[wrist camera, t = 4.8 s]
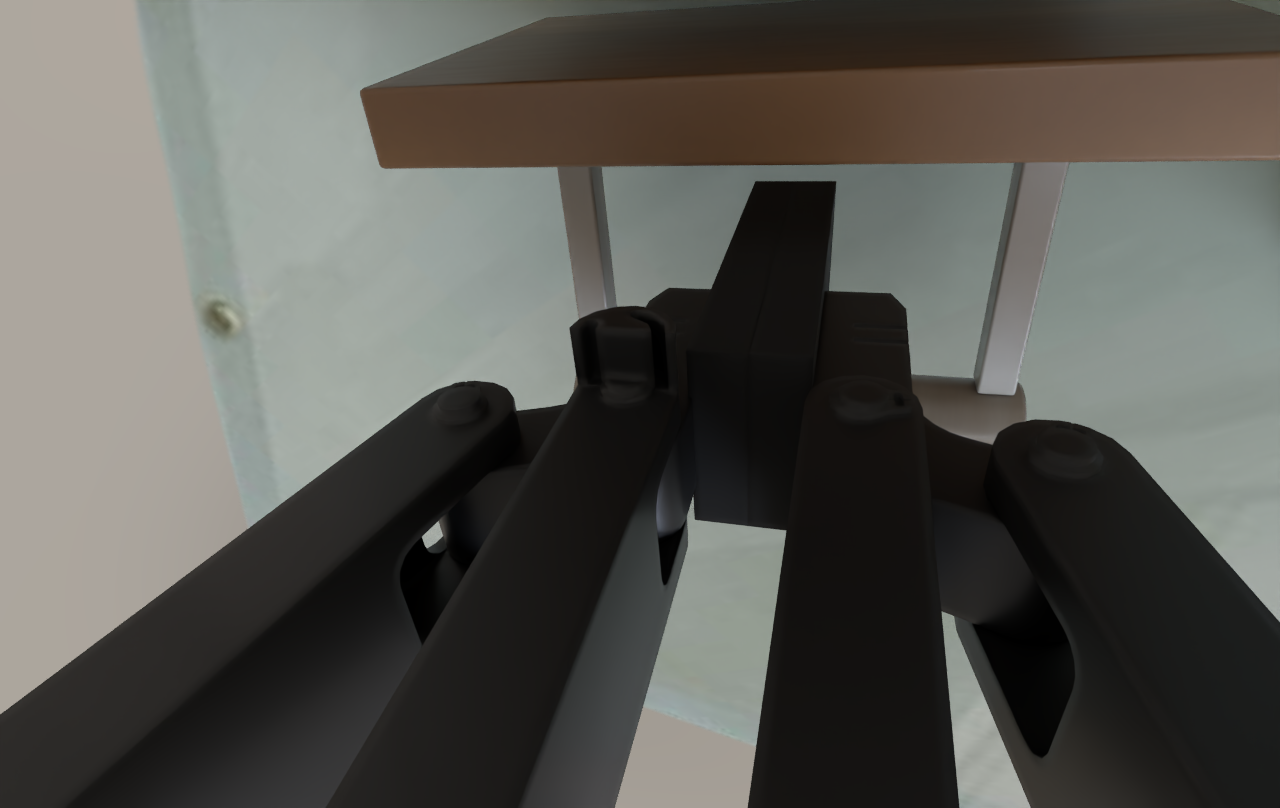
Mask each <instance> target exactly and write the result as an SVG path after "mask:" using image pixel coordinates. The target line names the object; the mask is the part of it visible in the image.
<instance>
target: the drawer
mask: <svg viewBox="0 0 1280 808" xmlns="http://www.w3.org/2000/svg"><path fill="white" fill-rule="evenodd" d="M360 95H361V99H362V103H363V106H364V110H365V114H366V117H367V121H368V125H369V128H370V132H371V136H372V139H373V143H374V146H375V150H376V154H377V157H378V161H379V164H380V166H381V167H382V168H386V169H393V168H502V167H557V168H558V175H559V182H560V189H561V196H562V203H563V210H564V217H565V224H566V231H567V238H568V245H569V252H570V259H571V266H572V273H573V280H574V287H575V294H576V301H577V308H578V315H579V319H580V318H582V317H584V316H587V315H589V314H591V313H593V312H595V311H599V310H604V309H608V308H613V307H617V304H616V295H615V286H614V277H613V268H612V259H611V250H610V241H609V232H608V222H607V213H606V204H605V195H604V186H603V177H602V168H601V167H610V166H719V165H827V164H936V163H1015V164H1014V169H1013V174H1012V179H1011V184H1010V189H1009V195H1008V200H1007V205H1006V210H1005V215H1004V220H1003V225H1002V231H1001V236H1000V241H999V246H998V251H997V256H996V261H995V267H994V272H993V277H992V282H991V287H990V292H989V297H988V303H987V308H986V313H985V318H984V323H983V328H982V334H981V339H980V344H979V349H978V354H977V359H976V364H975V370H974V378H960V377H943V376H926V375H911V378H912V390H913V394H914V395H916V396H917V397H918V399H919V402H920V404H921V406H922V408H923V416H925V417H926V418H927V419H929V420H930V421H931V422H932V423H934V424H935V425H937V426H939V427H941V428H943V429H945V430H947V431H949V432H951V433H954V434H957V435H960V436H963V437H966V438H969V439H973V440H977V441H980V442H984V443H988V444H991V445H993V443H994V441H995V438H996V436H997V434H998V432H1000V431H1001V430H1003V429H1005V428H1007V427H1008V426H1010V425H1012V424H1013V423H1019V422H1024V421H1026V419H1027V412H1026V399H1025V394H1024V391H1023V388H1022V386H1021V384H1020V383H1018V379H1019V375H1020V370H1021V366H1022V362H1023V358H1024V353H1025V349H1026V345H1027V341H1028V336H1029V332H1030V328H1031V324H1032V319H1033V315H1034V311H1035V306H1036V302H1037V298H1038V294H1039V289H1040V285H1041V281H1042V277H1043V272H1044V268H1045V264H1046V260H1047V255H1048V251H1049V247H1050V242H1051V238H1052V234H1053V230H1054V225H1055V221H1056V217H1057V213H1058V208H1059V204H1060V200H1061V196H1062V191H1063V187H1064V183H1065V179H1066V174H1067V170H1068V166H1069V162H1153V161H1262V160H1280V15H1277V14H1274V13H1270V12H1267V11H1264V10H1261V9H1257V8H1254V7H1251V6H1247V5H1244V4H1241V3H1238V2H1234V1H1231V0H812V1H796V2H781V3H766V4H750V5H735V6H719V7H704V8H688V9H673V10H657V11H642V12H626V13H611V14H596V15H580V16H565V17H549V18H545V19H542V20H540V21H537V22H534V23H532V24H529V25H527V26H524V27H521V28H519V29H516V30H514V31H511V32H508V33H506V34H503V35H501V36H498V37H495V38H493V39H490V40H487V41H485V42H482V43H480V44H477V45H474V46H472V47H469V48H467V49H464V50H461V51H459V52H456V53H454V54H451V55H448V56H446V57H443V58H441V59H438V60H435V61H433V62H430V63H428V64H425V65H422V66H420V67H417V68H415V69H412V70H409V71H407V72H404V73H402V74H399V75H396V76H394V77H391V78H389V79H386V80H383V81H381V82H378V83H376V84H373V85H370V86H368V87H365V88H363V89H362V90H361V91H360ZM577 386H578V382H577V375H576V379H575V385H574V391H575V389H576V387H577Z"/></svg>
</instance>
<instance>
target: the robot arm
mask: <svg viewBox="0 0 1280 808" xmlns="http://www.w3.org/2000/svg"><path fill="white" fill-rule="evenodd" d="M835 192H836V181H755V184H754V186H753V189H752V191H751V193H750V196H749V198H748V201H747V203H746V206H745V208H744V210H743V213H742V215H741V218H740V220H739V223H738V225H737V228H736V230H735V232H734V235H733V237H732V240H731V242H730V245H729V247H728V249H727V252H726V254H725V257H724V259H723V262H722V264H721V267H720V269H719V271H718V274H717V276H716V279H715V281H714V284H713V286H712V288H711V289H686V288H668V289H666V290H665V291H663V292H662V293H660V294H659V295H658V296H656V297H655V298H653V299H652V300H650V301H649V303H648V304H647V306H646V307H639V306H625V307H613V308H608V309H604V310H599V311H595V312H593V313H591V314H589V315H587V316H584V317H582V318H580V319H579V320H578V321H577V322H575V323H574V324H573V325H572V326H571V327H570V334H571V341H572V348H573V355H574V361H575V368H576V375H577V382H578V386H577V387H576V389H575V391H574V392H573V394H572V396H571V397H570V399H569V401H568V402H567V404H563V405H558V406H552V407H546V408H537V409H529V410H520V411H516V407H515V402H514V397H513V396H512V395H511V393H510V392H509V391H508V389H507V388H505V387H502V386H500V385H498V384H495V383H490V382H480V381H467V382H459V383H454V384H452V385H450V386H447V387H444V388H441V389H438V390H436V391H434V392H433V393H431V394H429V395H427V396H426V397H424V398H422V399H421V400H419V401H418V402H417V403H415V404H414V405H413V406H411V407H410V408H409V409H407V410H406V411H405V412H403V413H402V414H401V415H399V416H398V417H397V418H395V419H394V420H393V421H391V422H390V423H389V424H387V425H386V426H385V427H383V428H382V429H381V430H379V431H378V432H377V433H375V434H374V435H373V436H371V437H370V438H369V439H367V440H366V441H365V442H363V443H362V444H361V445H359V446H358V447H357V448H355V449H354V450H353V451H351V452H350V453H349V454H347V455H346V456H345V457H343V458H342V459H341V460H339V461H338V462H337V463H335V464H334V465H333V466H331V467H330V468H329V469H327V470H326V471H325V472H323V473H322V474H321V475H319V476H318V477H317V478H315V479H314V480H313V481H311V482H310V483H309V484H307V485H306V486H305V487H303V488H302V489H301V490H299V491H298V492H297V493H295V494H294V495H293V496H291V497H290V498H289V499H287V500H286V501H285V502H283V503H282V504H281V505H279V506H278V507H277V508H275V509H274V510H273V511H271V512H270V513H269V514H267V515H266V516H265V517H263V518H262V519H261V520H259V521H258V522H257V523H255V524H254V525H253V526H251V527H250V528H249V529H247V530H246V531H245V532H243V533H242V534H241V535H239V536H238V537H237V538H235V539H234V540H233V541H231V542H230V543H229V544H227V545H226V546H225V547H223V548H222V549H221V550H219V551H218V552H217V553H216V554H214V555H213V556H211V557H210V558H209V559H207V560H206V561H205V562H203V563H202V564H201V565H199V566H198V567H197V568H195V569H194V570H193V571H191V572H190V573H189V574H187V575H186V576H185V577H183V578H182V579H181V580H179V581H178V582H177V583H175V584H174V585H173V586H171V587H170V588H169V589H167V590H166V591H165V592H163V593H162V594H161V595H159V596H158V597H157V598H155V599H154V600H153V601H151V602H150V603H149V604H147V605H146V606H145V607H143V608H142V609H141V610H139V611H138V612H137V613H136V614H134V615H133V616H131V617H130V618H129V619H127V620H126V621H125V622H123V623H122V624H121V625H119V626H118V627H117V628H115V629H114V630H113V631H111V632H110V633H109V634H107V635H106V636H105V637H103V638H102V639H101V640H99V641H98V642H97V643H95V644H94V645H93V646H91V647H90V648H89V649H87V650H86V651H85V652H83V653H82V654H81V655H79V656H78V657H77V658H75V659H74V660H73V661H71V662H70V663H69V664H68V665H66V666H65V667H63V668H62V669H61V670H59V671H58V672H57V673H55V674H54V675H53V676H51V677H50V678H49V679H47V680H46V681H45V682H43V683H42V684H41V685H39V686H38V687H37V688H35V689H34V690H33V691H31V692H30V693H28V694H27V695H26V696H24V697H23V698H22V699H21V700H19V701H18V702H17V703H15V704H14V705H12V706H11V707H10V708H9V709H7V710H6V711H4V712H3V713H2V714H0V808H615V804H616V800H617V797H618V794H619V790H620V786H621V783H622V779H623V776H624V772H625V769H626V765H627V761H628V758H629V754H630V750H631V747H632V744H633V740H634V737H635V733H636V729H637V726H638V722H639V719H640V715H641V711H642V708H643V704H644V701H645V697H646V694H647V690H648V687H649V683H650V679H651V676H652V672H653V669H654V665H655V662H656V658H657V654H658V651H659V647H660V644H661V640H662V637H663V633H664V629H665V626H666V622H667V619H668V615H669V612H670V608H671V604H672V601H673V597H674V594H675V590H676V587H677V583H678V579H679V576H680V572H681V569H682V565H683V562H684V558H685V555H686V551H687V547H688V529H687V514H688V511H689V507H690V504H691V501H692V497H693V494H694V513H695V520H702V521H711V522H719V523H728V524H736V525H745V526H753V527H762V528H771V529H779V530H787V531H786V538H785V546H784V553H783V560H782V567H781V574H780V581H779V588H778V595H777V603H776V610H775V617H774V624H773V631H772V638H771V645H770V652H769V660H768V667H767V674H766V681H765V688H764V695H763V702H762V710H761V717H760V724H759V731H758V738H757V745H756V752H755V760H754V767H753V774H752V781H751V788H750V795H749V802H748V808H959V799H958V788H957V777H956V766H955V755H954V744H953V733H952V722H951V711H950V700H949V689H948V678H947V667H946V656H945V646H944V635H943V624H942V613H941V611H943V612H945V613H948V614H951V615H953V616H954V618H955V624H956V630H957V633H958V635H959V638H960V640H961V642H962V645H963V647H964V650H965V652H966V654H967V657H968V659H969V662H970V664H971V666H972V669H973V671H974V673H975V676H976V678H977V681H978V683H979V685H980V688H981V690H982V692H983V695H984V697H985V700H986V702H987V704H988V707H989V709H990V711H991V714H992V716H993V719H994V721H995V723H996V726H997V728H998V730H999V733H1000V735H1001V738H1002V740H1003V742H1004V745H1005V747H1006V749H1007V752H1008V754H1009V757H1010V759H1011V761H1012V764H1013V766H1014V769H1015V771H1016V773H1017V776H1018V778H1019V780H1020V783H1021V785H1022V788H1023V790H1024V792H1025V795H1026V797H1027V799H1028V802H1029V804H1030V807H1031V808H1280V622H1279V621H1278V620H1277V619H1276V618H1275V616H1274V615H1273V614H1272V613H1271V612H1270V611H1269V610H1268V608H1267V607H1266V606H1265V605H1264V604H1263V603H1262V602H1261V601H1260V599H1259V598H1258V597H1257V596H1256V595H1255V594H1254V593H1253V591H1252V590H1251V589H1250V588H1249V587H1248V586H1247V585H1246V584H1245V582H1244V581H1243V580H1242V579H1241V578H1240V577H1239V576H1238V574H1237V573H1236V572H1235V571H1234V570H1233V569H1232V568H1231V567H1230V565H1229V564H1228V563H1227V562H1226V561H1225V560H1224V559H1223V557H1222V556H1221V555H1220V554H1219V553H1218V552H1217V551H1216V550H1215V548H1214V547H1213V546H1212V545H1211V544H1210V543H1209V542H1208V540H1207V539H1206V538H1205V537H1204V536H1203V535H1202V534H1201V533H1200V531H1199V530H1198V529H1197V528H1196V527H1195V526H1194V525H1193V523H1192V522H1191V521H1190V520H1189V519H1188V518H1187V517H1186V516H1185V514H1184V513H1183V512H1182V511H1181V510H1180V509H1179V508H1178V506H1177V505H1176V504H1175V503H1174V502H1173V501H1172V500H1171V499H1170V497H1169V496H1168V495H1167V494H1166V493H1165V492H1164V491H1163V489H1162V488H1161V487H1160V486H1159V485H1158V484H1157V483H1156V482H1155V480H1154V479H1153V478H1152V477H1151V476H1150V475H1149V474H1148V472H1147V471H1146V470H1145V469H1144V468H1143V467H1142V466H1141V465H1140V463H1139V462H1138V461H1137V460H1136V459H1135V458H1134V457H1133V455H1132V454H1131V453H1130V452H1128V451H1127V450H1126V449H1125V448H1123V447H1122V446H1121V445H1120V444H1119V443H1117V442H1116V441H1115V440H1114V439H1112V438H1110V437H1108V436H1106V435H1104V434H1101V433H1099V432H1097V431H1095V430H1093V429H1091V428H1088V427H1085V426H1082V425H1078V424H1075V423H1074V424H1072V423H1071V422H1064V421H1054V420H1030V421H1024V422H1019V423H1013V424H1012V425H1010V426H1008V427H1007V428H1005V429H1003V430H1001V431H1000V432H998V434H997V436H996V438H995V441H994V443H993V445H991V444H988V443H984V442H980V441H977V440H973V439H969V438H966V437H963V436H960V435H957V434H954V433H951V432H949V431H947V430H945V429H943V428H941V427H939V426H937V425H935V424H934V423H932V422H931V421H930V420H929V419H927V418H926V417H925V416H923V408H922V406H921V404H920V402H919V399H918V397H917V396H916V395H914V394H913V390H912V378H911V365H910V353H909V344H908V341H909V340H908V330H907V315H906V308H905V307H904V306H903V305H902V304H901V303H900V302H899V301H898V300H897V299H896V298H895V297H894V296H893V295H892V294H891V293H865V292H836V291H829V282H830V267H831V252H832V237H833V222H834V207H835ZM438 521H439V524H440V527H441V530H442V533H443V537H442V538H441V539H440V540H439V541H438V542H437V543H435V544H434V545H432V546H431V547H429V548H426V547H425V545H424V542H423V539H422V536H423V535H424V534H425V533H426V532H427V531H428V530H429V529H430V528H431V527H432V526H433V525H434V524H436V523H437V522H438Z"/></svg>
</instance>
